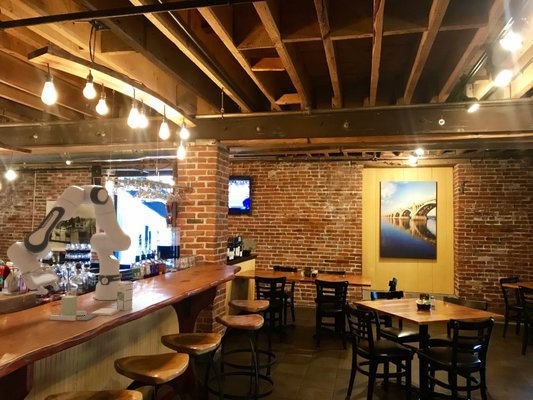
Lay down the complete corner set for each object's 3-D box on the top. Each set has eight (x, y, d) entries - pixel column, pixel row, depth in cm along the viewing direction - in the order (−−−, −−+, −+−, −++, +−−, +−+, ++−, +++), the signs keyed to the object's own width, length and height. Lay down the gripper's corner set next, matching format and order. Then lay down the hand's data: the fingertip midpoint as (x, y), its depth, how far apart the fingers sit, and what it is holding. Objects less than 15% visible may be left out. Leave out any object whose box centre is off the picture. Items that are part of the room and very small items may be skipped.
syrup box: (132, 309, 210) (133, 281, 211) (123, 311, 205) (124, 283, 206) (125, 307, 213) (126, 280, 214) (116, 309, 208) (117, 281, 209)
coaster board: (100, 310, 206) (100, 308, 206) (119, 311, 205) (119, 309, 205) (91, 314, 196) (91, 312, 196) (110, 315, 195) (110, 313, 195)
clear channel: (63, 314, 196) (63, 310, 196) (98, 315, 195) (98, 311, 195) (50, 319, 185) (50, 315, 185) (87, 321, 184) (87, 316, 184)
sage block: (66, 316, 193) (67, 295, 193) (76, 316, 193) (77, 295, 193) (60, 318, 188) (61, 297, 188) (70, 318, 188) (71, 297, 188)
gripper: (24, 268, 181) (44, 290, 181) (50, 263, 202) (68, 283, 201) (14, 278, 181) (34, 300, 181) (41, 272, 202) (59, 292, 201)
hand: (52, 291), depth 191 cm, fingers open, 8 cm apart
